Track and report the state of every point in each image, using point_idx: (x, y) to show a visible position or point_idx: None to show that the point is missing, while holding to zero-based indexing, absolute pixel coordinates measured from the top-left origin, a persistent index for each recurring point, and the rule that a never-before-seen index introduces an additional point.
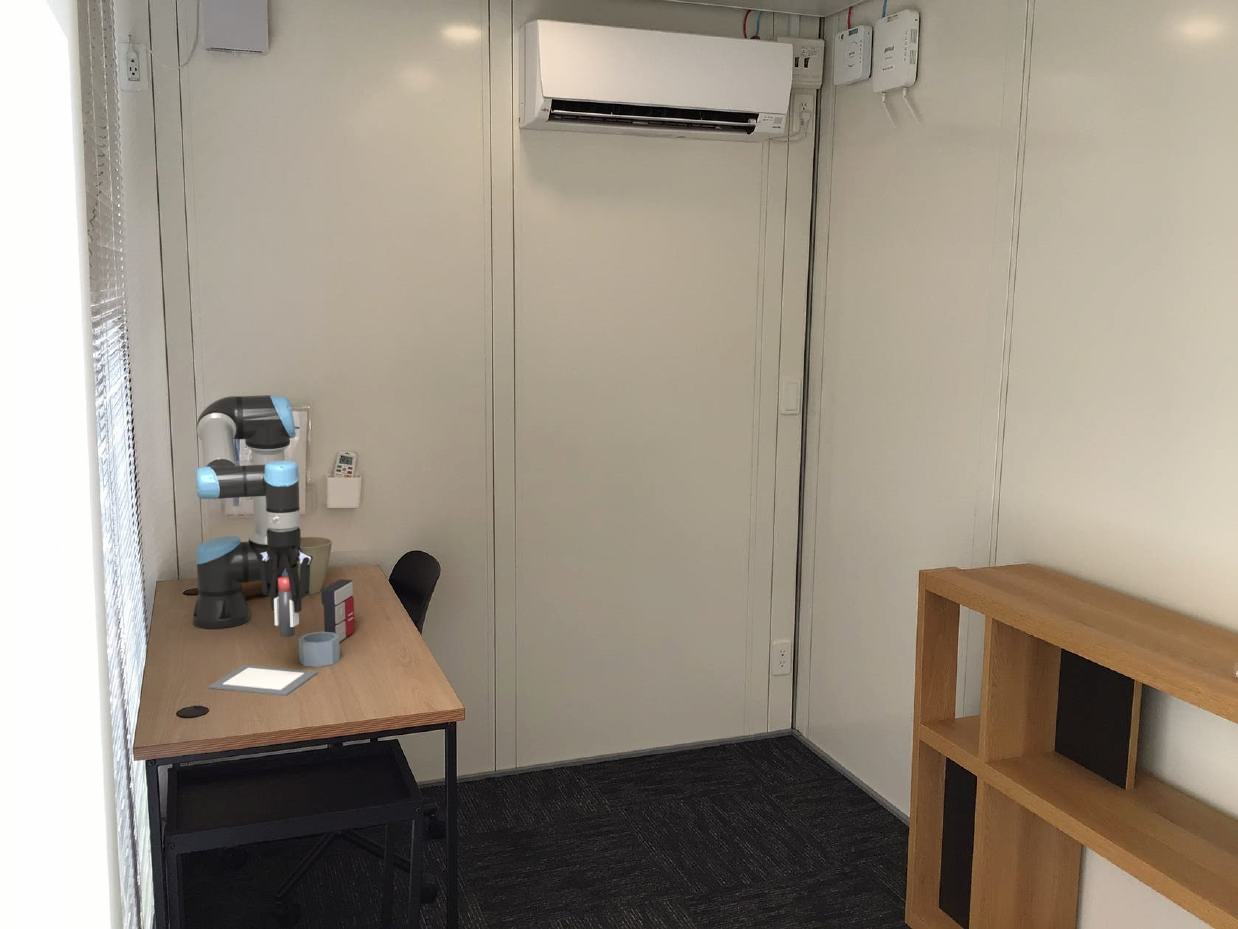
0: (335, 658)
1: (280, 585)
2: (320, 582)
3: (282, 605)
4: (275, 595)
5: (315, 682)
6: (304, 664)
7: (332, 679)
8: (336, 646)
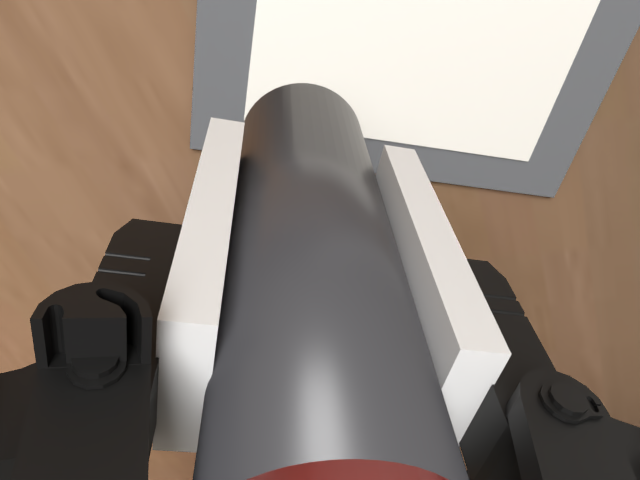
0: None
1: None
2: None
3: (341, 259)
4: (505, 424)
5: (145, 23)
6: None
7: (78, 73)
8: None
